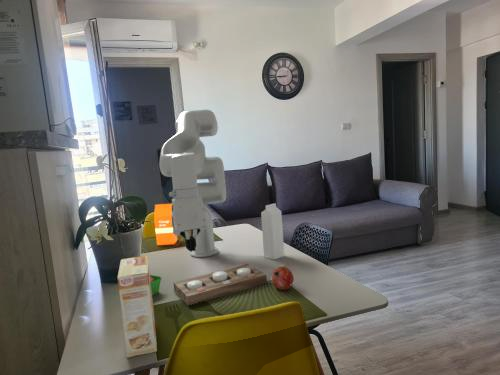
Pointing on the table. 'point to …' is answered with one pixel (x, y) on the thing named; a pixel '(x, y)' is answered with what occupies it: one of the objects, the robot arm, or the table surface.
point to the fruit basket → (155, 283)
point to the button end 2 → (243, 271)
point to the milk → (272, 232)
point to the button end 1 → (194, 284)
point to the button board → (219, 284)
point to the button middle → (219, 276)
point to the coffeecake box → (137, 306)
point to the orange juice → (164, 224)
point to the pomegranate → (282, 278)
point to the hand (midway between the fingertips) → (191, 250)
